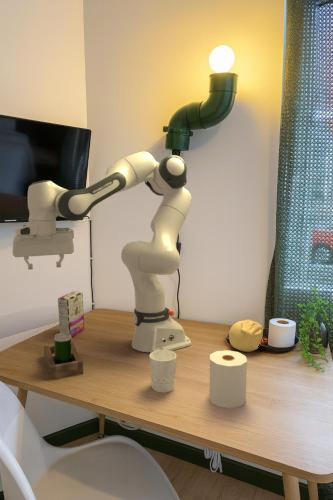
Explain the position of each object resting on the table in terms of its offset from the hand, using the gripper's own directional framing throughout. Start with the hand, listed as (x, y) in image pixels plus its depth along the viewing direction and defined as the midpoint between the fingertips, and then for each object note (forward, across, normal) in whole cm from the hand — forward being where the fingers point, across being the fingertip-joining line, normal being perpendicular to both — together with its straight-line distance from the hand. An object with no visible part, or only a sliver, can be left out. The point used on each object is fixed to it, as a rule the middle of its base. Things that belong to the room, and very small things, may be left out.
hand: (44, 268), depth 133 cm
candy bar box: (+31, -11, -16) cm, 37 cm away
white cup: (+31, -28, +39) cm, 57 cm away
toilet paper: (+31, -42, +52) cm, 74 cm away
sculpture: (+31, -67, +25) cm, 78 cm away
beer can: (+31, -3, +16) cm, 35 cm away
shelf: (+31, -3, +12) cm, 33 cm away
